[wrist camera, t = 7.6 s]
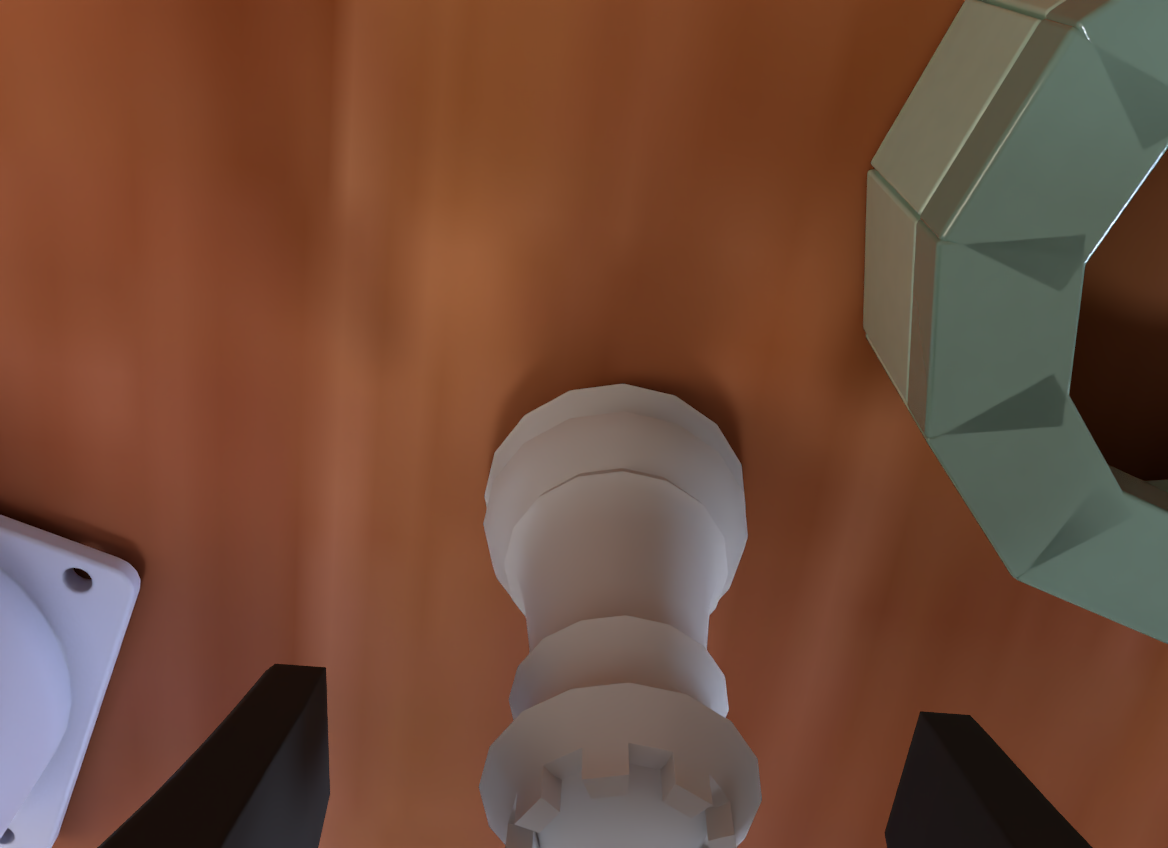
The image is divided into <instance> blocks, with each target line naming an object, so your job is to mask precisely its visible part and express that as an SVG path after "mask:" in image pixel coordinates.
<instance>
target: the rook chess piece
mask: <svg viewBox="0 0 1168 848" xmlns="http://www.w3.org/2000/svg"><path fill="white" fill-rule="evenodd" d="M484 497H485V501H486V506H487V510H486V515H485V519H484V523H483V525H484V529H485V534H486V538H487V542H488V547H489V551H490V556H491V560H492V564H493V568H494V571H495V574H496V577H497V579H498V580H499V582H500V583H501V584H502V586H503V587H504V588H505V590H506V591H507V592H508V593H509V595H510V596H511V597H512V600H513V601H514V602H515V604H516V605H517V606H518V608H519V609H520V610H521V611H522V613H523V614H524V615H525V617H526V621H527V630H528V639H529V648H530V651H529V655H528V656H527V657H526V658H525V659H524V660H523V661H522V662H521V664H520V665H519V666H518V668H517V671H516V675H515V679H514V682H513V686H512V689H511V693H510V697H509V703H510V707H511V711H512V716H513V720H514V721H513V722H512V723H511V724H510V725H509V726H508V727H507V729H506V730H505V731H504V732H503V733H502V734H501V735H500V736H499V737H498V738H497V739H496V740H495V741H494V743H493V744H492V745H491V746H490V748H489V751H488V755H487V759H486V762H485V766H484V770H483V773H482V777H481V781H480V784H479V790H480V793H481V797H482V801H483V805H484V808H485V812H486V816H487V820H488V824H489V827H490V828H491V829H492V830H493V831H494V833H495V834H496V835H497V836H498V837H499V838H500V839H501V840H502V842H503V843H504V844H505V845H506V848H736V847H737V846H738V845H739V844H740V843H741V842H742V841H743V840H744V839H745V837H746V835H747V833H748V830H749V828H750V826H751V824H752V821H753V819H754V817H755V814H756V812H757V810H758V808H759V805H760V803H761V801H762V796H761V787H760V777H759V768H758V759H757V757H756V756H755V754H754V753H753V752H752V750H751V749H750V747H749V746H748V745H747V743H746V742H745V740H744V739H743V737H742V736H741V735H740V733H739V732H738V730H737V729H736V727H735V726H734V725H733V723H732V722H731V721H730V720H728V719H727V718H726V716H727V713H728V711H729V707H728V698H727V690H726V682H725V676H724V674H723V673H722V671H721V670H720V668H719V667H718V666H717V664H716V663H715V661H714V660H713V658H712V657H711V655H710V654H709V652H708V651H707V639H708V625H709V615H710V614H711V613H712V612H713V611H714V610H715V609H716V606H717V604H718V601H719V599H720V598H721V597H722V596H723V595H724V594H725V593H726V592H727V591H728V590H729V588H730V586H731V583H732V580H733V578H734V575H735V572H736V570H737V567H738V564H739V562H740V559H741V556H742V554H743V551H744V548H745V544H746V541H747V538H748V533H747V523H746V512H745V510H746V506H745V496H744V485H743V475H742V465H741V463H740V461H739V460H738V458H737V456H736V455H735V453H734V451H733V450H732V448H731V447H730V445H729V443H728V442H727V440H726V438H725V437H724V435H723V433H722V432H721V430H720V429H719V427H718V425H717V424H716V423H714V422H713V421H711V420H710V419H708V418H707V417H706V416H704V415H703V414H701V413H700V412H698V411H697V410H695V409H694V408H693V407H691V406H690V405H688V404H687V403H685V402H684V401H682V400H681V399H680V398H678V397H677V396H675V395H671V394H666V393H662V392H658V391H653V390H649V389H645V388H640V387H636V386H632V385H628V384H616V385H608V386H600V387H593V388H585V389H578V390H570V391H568V392H566V393H564V394H563V395H561V396H559V397H557V398H555V399H553V400H551V401H550V402H548V403H546V404H544V405H542V406H540V407H539V408H537V409H535V410H533V411H531V412H529V413H528V414H526V415H524V416H523V418H522V419H521V420H520V421H519V423H518V424H517V425H516V426H515V428H514V429H513V430H512V432H511V433H510V434H509V435H508V437H507V438H506V439H505V440H504V442H503V443H502V444H501V445H500V447H499V448H498V449H497V450H496V452H495V453H494V458H493V462H492V466H491V470H490V474H489V479H488V483H487V487H486V491H485V496H484Z"/></svg>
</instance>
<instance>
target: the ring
mask: <svg viewBox="0 0 1168 848" xmlns="http://www.w3.org/2000/svg"><path fill="white" fill-rule="evenodd" d="M1167 149H1168V0H965V2H964V3H963V5H962V7H961V8H960V10H959V12H958V13H957V15H956V17H955V19H954V20H953V22H952V24H951V25H950V27H949V29H948V31H947V32H946V34H945V36H944V37H943V39H942V41H941V43H940V44H939V46H938V48H937V49H936V51H935V53H934V55H933V56H932V58H931V60H930V61H929V63H928V65H927V67H926V68H925V70H924V72H923V73H922V75H921V77H920V79H919V80H918V82H917V84H916V85H915V87H914V89H913V91H912V92H911V94H910V96H909V97H908V99H907V101H906V103H905V104H904V106H903V108H902V109H901V111H900V113H899V115H898V116H897V118H896V120H895V121H894V123H893V125H892V127H891V128H890V130H889V132H888V133H887V135H886V137H885V139H884V140H883V142H882V144H881V145H880V147H879V149H878V150H877V152H876V154H875V156H874V157H873V159H872V161H871V165H872V167H873V168H874V169H872V170H869V171H868V173H867V203H866V238H865V273H864V308H863V329H864V331H865V332H866V339H867V341H868V342H869V344H870V346H871V347H872V349H873V351H874V353H875V354H876V356H877V358H878V359H879V361H880V363H881V365H882V366H883V368H884V370H885V371H886V373H887V375H888V377H889V378H890V380H891V382H892V383H893V385H894V387H895V389H896V390H897V392H898V394H899V395H900V397H901V399H902V401H903V402H904V404H905V406H906V407H907V409H908V411H909V413H910V415H911V416H912V418H913V420H914V421H915V423H916V425H917V427H918V428H919V430H920V432H921V433H922V435H923V437H924V439H925V440H926V442H927V444H928V445H929V447H930V448H931V450H932V451H933V453H934V455H935V456H936V458H937V459H938V461H939V463H940V464H941V466H942V467H943V469H944V470H945V472H946V474H947V475H948V477H949V478H950V480H951V481H952V483H953V485H954V486H955V488H956V489H957V491H958V493H959V494H960V496H961V497H962V499H963V500H964V502H965V504H966V505H967V507H968V508H969V510H970V511H971V513H972V515H973V516H974V518H975V519H976V521H977V523H978V524H979V526H980V527H981V529H982V530H983V532H984V534H985V535H986V537H987V538H988V540H989V542H990V543H991V545H992V546H993V548H994V549H995V551H996V553H997V554H998V556H999V557H1000V559H1001V560H1002V562H1003V564H1004V565H1005V567H1006V568H1007V570H1008V572H1009V573H1010V575H1011V576H1012V577H1014V578H1015V579H1016V580H1018V581H1020V582H1023V583H1025V584H1027V585H1030V586H1032V587H1035V588H1037V589H1039V590H1042V591H1044V592H1046V593H1049V594H1051V595H1053V596H1056V597H1058V598H1060V599H1063V600H1065V601H1067V602H1070V603H1072V604H1075V605H1077V606H1079V607H1082V608H1084V609H1086V610H1089V611H1091V612H1093V613H1096V614H1098V615H1100V616H1103V617H1105V618H1107V619H1110V620H1112V621H1115V622H1117V623H1119V624H1122V625H1124V626H1126V627H1129V628H1131V629H1133V630H1136V631H1138V632H1140V633H1143V634H1145V635H1147V636H1150V637H1152V638H1155V639H1157V640H1159V641H1162V642H1164V643H1166V644H1168V479H1163V480H1149V481H1143V480H1141V479H1138V478H1136V477H1134V476H1132V475H1130V474H1127V473H1125V472H1123V471H1121V470H1119V469H1116V468H1114V467H1112V466H1110V465H1108V464H1107V462H1106V460H1105V458H1104V456H1103V455H1102V453H1101V451H1100V449H1099V447H1098V446H1097V444H1096V442H1095V440H1094V438H1093V437H1092V435H1091V433H1090V431H1089V429H1088V428H1087V426H1086V424H1085V422H1084V420H1083V419H1082V417H1081V415H1080V413H1079V411H1078V410H1077V408H1076V406H1075V404H1074V402H1073V401H1072V399H1071V397H1070V395H1069V392H1070V384H1071V376H1072V368H1073V360H1074V352H1075V344H1076V336H1077V328H1078V320H1079V312H1080V304H1081V296H1082V288H1083V280H1084V272H1085V265H1086V263H1087V262H1088V260H1089V259H1090V258H1091V256H1092V255H1093V253H1094V252H1095V251H1096V249H1097V248H1098V246H1099V245H1100V244H1101V242H1102V241H1103V239H1104V238H1105V236H1106V235H1107V234H1108V232H1109V231H1110V229H1111V228H1112V227H1113V225H1114V224H1115V222H1116V221H1117V219H1118V218H1119V217H1120V215H1121V214H1122V212H1123V211H1124V210H1125V208H1126V207H1127V205H1128V204H1129V202H1130V201H1131V200H1132V198H1133V197H1134V195H1135V194H1136V193H1137V191H1138V190H1139V188H1140V187H1141V185H1142V184H1143V183H1144V181H1145V180H1146V178H1147V177H1148V176H1149V174H1150V173H1151V171H1152V170H1153V169H1154V167H1155V166H1156V164H1157V163H1158V161H1159V160H1160V159H1161V157H1162V156H1163V154H1164V153H1165V152H1166V150H1167Z"/></svg>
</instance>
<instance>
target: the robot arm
mask: <svg viewBox="0 0 1168 848" xmlns="http://www.w3.org/2000/svg"><path fill="white" fill-rule="evenodd" d="M73 568H79V569H82V570H84V571H85V572H87V573H88V574H89V575H90V577H91V578H92V580H91V579H84V578H82V577H80V576H79V575H77V574H76V573H75V571H74V570H73ZM140 581H141V580H140V577H139V575H138V573H137V571H136V570H135V569H134V567H133V566H132V565H131V564H130V563H128V562H126V561H124V560H122V559H121V558H118V557H116V556H113V555H110V554H107V553H105V552H102V551H99V550H96V549H94V548H91V547H88V546H85V545H83V544H80V543H77V542H75V541H72V540H69V539H66V538H64V537H61V536H58V535H55V534H53V533H50V532H47V531H44V530H42V529H39V528H36V527H33V526H31V525H28V524H25V523H22V522H20V521H17V520H14V519H11V518H9V517H6V516H3V515H0V848H51V847H52V846H53V844H54V842H55V840H56V839H57V837H58V834H59V831H60V828H61V825H62V822H63V819H64V816H65V813H66V810H67V807H68V804H69V801H70V798H71V795H72V792H73V789H74V786H75V783H76V780H77V777H78V774H79V771H80V768H81V765H82V762H83V759H84V756H85V753H86V750H87V747H88V744H89V741H90V738H91V735H92V732H93V729H94V726H95V723H96V720H97V717H98V714H99V711H100V708H101V705H102V702H103V698H104V695H105V692H106V689H107V686H108V683H109V680H110V677H111V674H112V671H113V668H114V665H115V662H116V659H117V656H118V653H119V650H120V647H121V644H122V641H123V638H124V635H125V632H126V629H127V626H128V623H129V620H130V617H131V614H132V611H133V608H134V605H135V602H136V599H137V596H138V593H139V590H140ZM329 796H330V779H329V747H328V716H327V684H326V668H325V667H311V666H298V665H284V664H274V665H273V666H272V667H270V668H269V669H268V670H266V671H265V673H264V674H263V675H262V676H261V677H260V679H259V680H258V681H257V682H256V683H255V685H254V686H253V687H252V688H251V689H250V690H249V692H248V693H247V694H246V695H245V696H244V698H243V699H242V700H241V701H240V702H239V703H238V705H237V706H236V707H235V708H234V709H233V710H232V711H231V713H230V714H229V715H228V716H227V717H226V718H225V719H224V721H223V722H222V723H221V724H220V725H219V726H218V727H217V728H216V729H215V730H214V732H213V733H212V734H211V735H210V736H209V737H208V738H207V739H206V740H205V742H204V743H203V744H202V745H201V746H200V747H199V748H198V749H197V750H196V751H195V752H194V753H193V754H192V755H191V756H190V757H189V758H188V760H187V761H186V762H185V763H184V764H183V765H182V766H181V767H180V768H179V769H178V770H177V771H176V772H175V773H174V774H173V775H172V776H171V777H170V778H169V779H168V780H167V781H166V783H165V784H164V785H163V786H162V787H161V788H160V789H159V790H158V791H157V792H156V793H155V794H154V795H153V796H152V797H151V798H150V799H149V800H148V801H147V802H145V803H144V804H143V805H142V806H141V807H140V808H139V809H138V810H137V811H136V812H135V813H134V814H133V815H132V816H131V817H130V818H129V819H127V820H126V821H125V822H124V823H123V824H122V825H121V826H120V827H119V828H118V829H117V830H116V831H115V832H114V833H113V834H112V835H111V836H110V837H108V838H107V839H106V840H105V841H104V842H103V843H102V844H101V845H100V846H99V847H98V848H318V845H319V841H320V837H321V832H322V827H323V823H324V818H325V814H326V809H327V805H328V800H329ZM885 838H886V843H887V848H1092V847H1091V846H1090V845H1089V844H1088V842H1087V841H1086V840H1085V839H1084V838H1083V837H1082V836H1081V835H1080V834H1079V833H1078V832H1077V831H1076V830H1075V829H1074V828H1073V827H1072V826H1071V825H1070V824H1069V822H1068V821H1067V820H1066V819H1065V818H1064V817H1063V816H1062V815H1061V814H1060V813H1059V812H1058V811H1057V810H1056V809H1055V807H1054V806H1053V805H1052V804H1051V803H1050V802H1049V801H1048V800H1047V799H1046V798H1045V797H1044V795H1043V794H1042V793H1041V792H1040V791H1039V790H1038V789H1037V788H1036V787H1035V786H1034V785H1033V783H1032V782H1031V781H1030V780H1029V779H1028V778H1027V777H1026V776H1025V775H1024V774H1023V772H1022V771H1021V770H1020V769H1019V768H1018V767H1017V766H1016V765H1015V764H1014V762H1013V761H1012V760H1011V759H1010V758H1009V757H1008V756H1007V755H1006V754H1005V752H1004V751H1003V750H1002V749H1001V748H1000V747H999V746H998V745H997V744H996V743H995V741H994V740H993V739H992V738H991V737H990V736H989V735H988V734H987V733H986V732H985V731H984V729H983V728H982V727H981V726H980V725H979V724H978V723H977V722H976V721H975V720H974V719H973V718H972V717H971V716H970V715H961V714H947V713H934V712H920V714H919V718H918V721H917V725H916V728H915V731H914V735H913V738H912V742H911V745H910V748H909V752H908V755H907V759H906V762H905V765H904V769H903V772H902V776H901V779H900V783H899V786H898V789H897V793H896V796H895V800H894V803H893V806H892V810H891V813H890V817H889V820H888V823H887V827H886V830H885Z"/></svg>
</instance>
